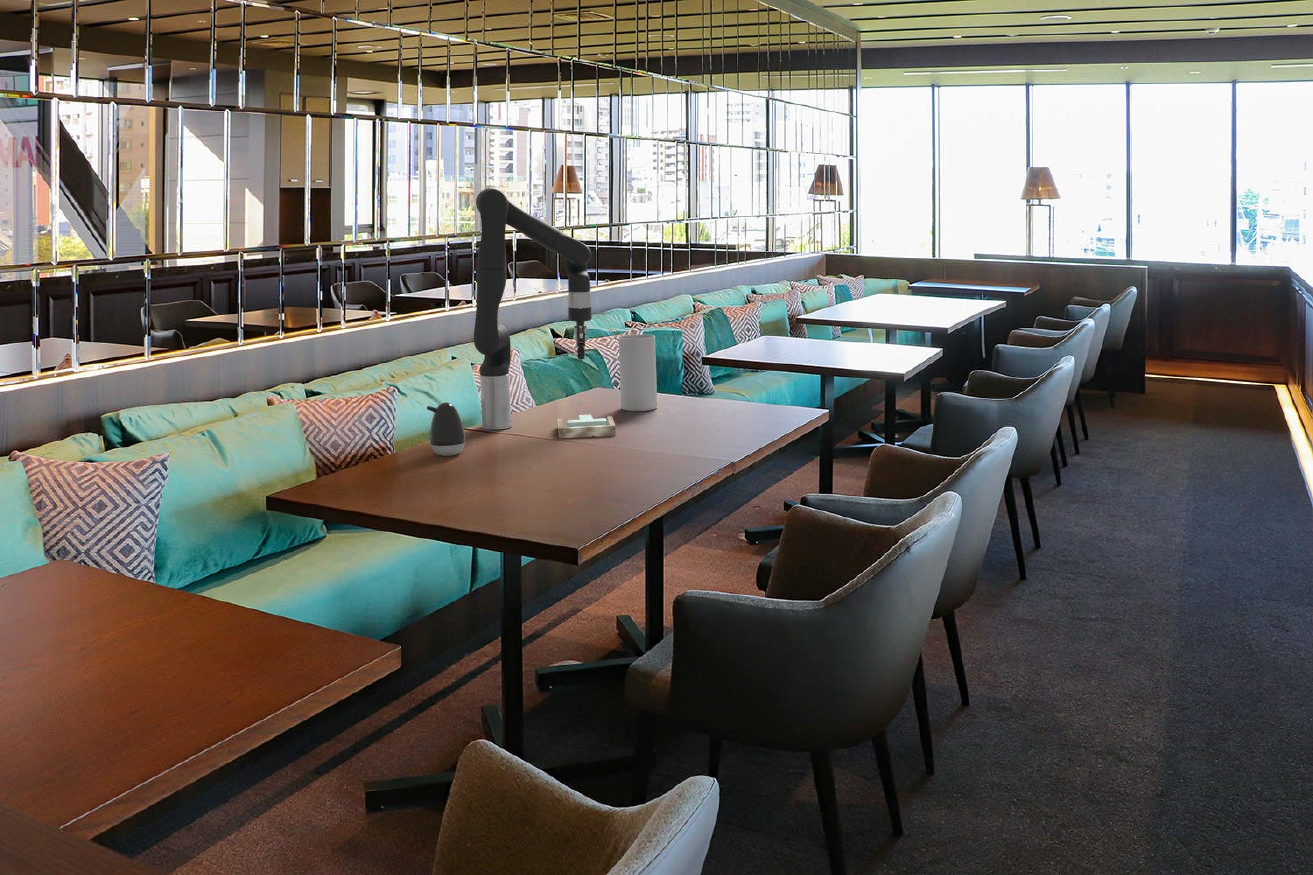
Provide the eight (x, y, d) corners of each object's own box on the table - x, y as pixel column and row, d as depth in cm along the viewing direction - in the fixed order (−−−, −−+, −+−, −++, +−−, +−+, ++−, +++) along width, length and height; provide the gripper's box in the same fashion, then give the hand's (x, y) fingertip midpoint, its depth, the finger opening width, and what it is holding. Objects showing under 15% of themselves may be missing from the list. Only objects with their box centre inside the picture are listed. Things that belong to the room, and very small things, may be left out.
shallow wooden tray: (558, 438, 339) (558, 428, 339) (557, 427, 355) (557, 418, 355) (615, 435, 341) (615, 425, 340) (612, 425, 357) (611, 416, 357)
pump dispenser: (432, 451, 326) (428, 400, 323) (467, 449, 327) (464, 398, 324) (427, 458, 316) (424, 406, 313) (464, 457, 317) (461, 404, 314)
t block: (566, 427, 355) (566, 415, 354) (604, 426, 357) (603, 413, 356) (568, 435, 343) (567, 422, 343) (607, 433, 345) (606, 420, 344)
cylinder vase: (656, 411, 379) (654, 338, 374) (620, 412, 379) (617, 339, 374) (657, 405, 391) (655, 334, 386) (621, 405, 391) (619, 335, 386)
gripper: (567, 304, 364) (568, 356, 368) (568, 308, 351) (570, 362, 355) (590, 303, 365) (591, 356, 369) (592, 307, 352) (593, 361, 356)
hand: (581, 359), depth 362 cm, fingers closed
